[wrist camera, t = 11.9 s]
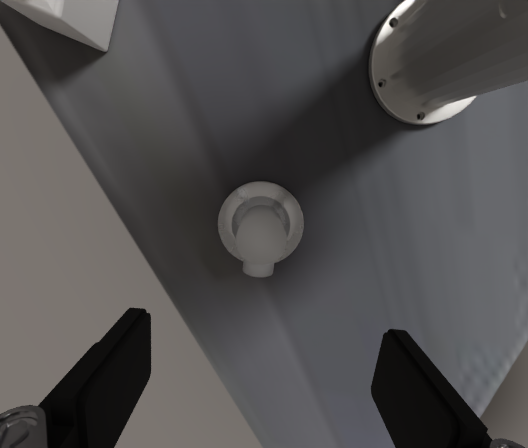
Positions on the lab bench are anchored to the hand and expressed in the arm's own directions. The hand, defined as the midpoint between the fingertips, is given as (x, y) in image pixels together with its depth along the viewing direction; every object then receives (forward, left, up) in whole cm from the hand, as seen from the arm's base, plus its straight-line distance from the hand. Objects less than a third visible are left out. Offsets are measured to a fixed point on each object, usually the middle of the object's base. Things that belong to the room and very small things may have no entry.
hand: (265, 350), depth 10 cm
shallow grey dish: (0, 0, -22) cm, 22 cm away
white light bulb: (0, 0, -21) cm, 21 cm away
